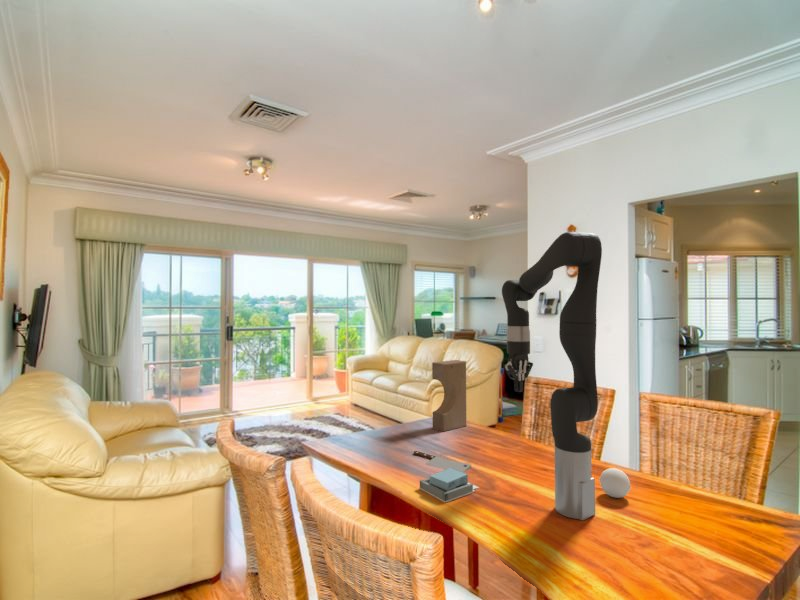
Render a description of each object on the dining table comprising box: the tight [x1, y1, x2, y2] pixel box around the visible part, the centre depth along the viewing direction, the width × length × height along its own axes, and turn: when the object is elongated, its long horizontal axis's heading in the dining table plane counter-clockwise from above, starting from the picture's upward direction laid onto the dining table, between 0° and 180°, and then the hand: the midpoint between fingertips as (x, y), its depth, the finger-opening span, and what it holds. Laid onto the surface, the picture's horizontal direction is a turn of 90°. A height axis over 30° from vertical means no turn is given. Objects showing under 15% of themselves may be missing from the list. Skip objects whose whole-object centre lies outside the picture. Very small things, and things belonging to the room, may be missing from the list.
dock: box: [419, 477, 480, 503], centre depth 130 cm, size 12×15×2 cm
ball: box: [599, 467, 631, 499], centre depth 125 cm, size 8×8×8 cm
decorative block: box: [431, 359, 467, 433], centre depth 197 cm, size 15×8×30 cm, turn 128°
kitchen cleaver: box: [413, 450, 472, 473], centre depth 152 cm, size 24×1×10 cm
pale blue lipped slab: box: [429, 468, 469, 492], centre depth 129 cm, size 7×10×4 cm
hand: (518, 391), depth 143 cm, fingers closed
